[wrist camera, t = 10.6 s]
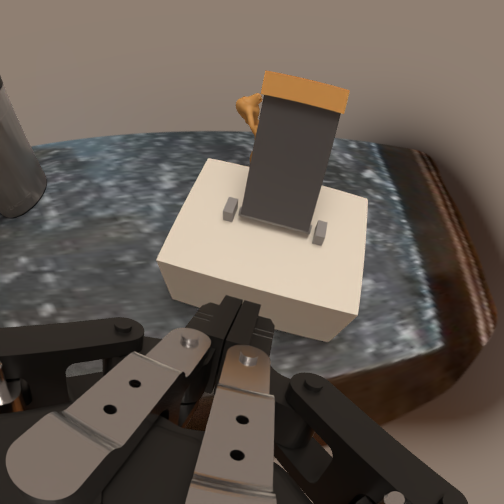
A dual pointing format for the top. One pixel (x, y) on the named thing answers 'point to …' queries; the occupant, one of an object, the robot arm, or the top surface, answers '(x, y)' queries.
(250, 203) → the handle
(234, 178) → the breaker housing
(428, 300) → the top surface
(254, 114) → the figurine
